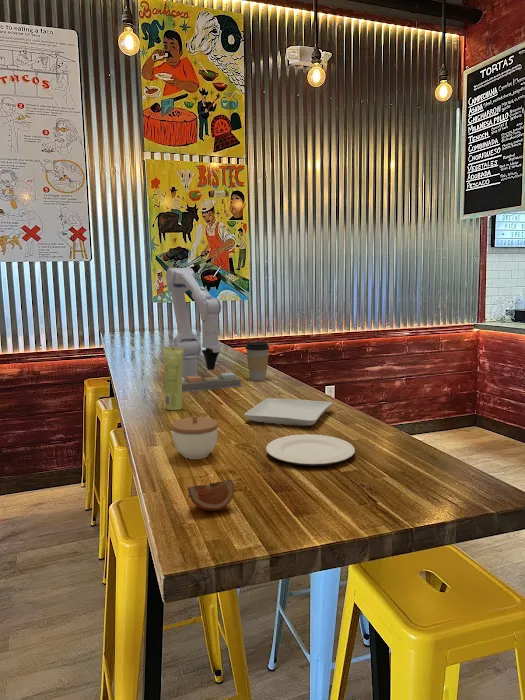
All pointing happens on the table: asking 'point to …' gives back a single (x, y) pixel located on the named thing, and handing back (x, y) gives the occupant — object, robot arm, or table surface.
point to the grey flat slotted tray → (210, 385)
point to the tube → (173, 377)
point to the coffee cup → (257, 360)
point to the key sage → (210, 379)
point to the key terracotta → (193, 379)
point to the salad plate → (288, 411)
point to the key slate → (227, 376)
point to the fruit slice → (212, 495)
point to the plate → (310, 450)
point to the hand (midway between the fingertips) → (210, 369)
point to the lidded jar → (195, 436)
